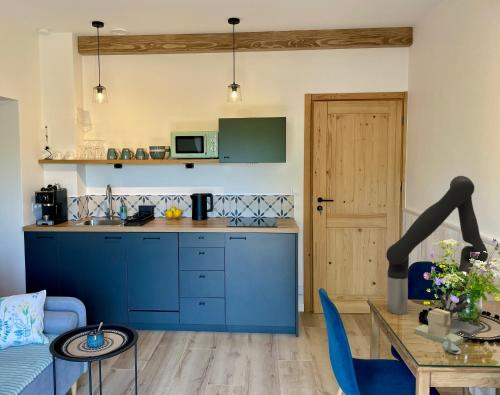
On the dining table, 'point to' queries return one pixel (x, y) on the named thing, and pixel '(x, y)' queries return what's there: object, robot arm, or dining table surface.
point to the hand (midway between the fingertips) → (446, 318)
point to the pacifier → (451, 346)
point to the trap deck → (455, 329)
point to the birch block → (439, 322)
